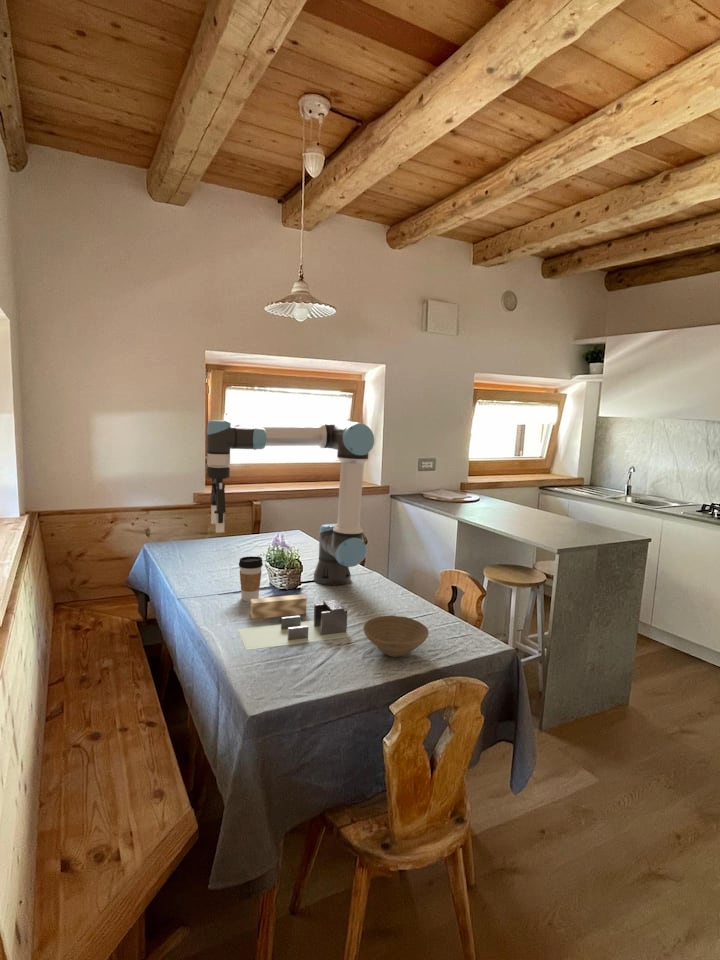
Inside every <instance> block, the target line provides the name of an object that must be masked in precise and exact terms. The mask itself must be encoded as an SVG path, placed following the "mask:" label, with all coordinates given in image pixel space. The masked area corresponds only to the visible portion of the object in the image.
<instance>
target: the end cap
mask: <svg viewBox="0 0 720 960" xmlns="http://www.w3.org/2000/svg"><path fill="white" fill-rule="evenodd" d="M313 606H314V610H313V611H314V612H313V613H314V614H313V621H314V626H315V627H316V626H321V627H320V634H321V635H327V634H335V633H344V632H346V631H347V628H348V609H346V607H345V606H343V604H342V603H340V601H337V600H336V599H330V600H323V603H322V602H321V603H315V604H314V605H313ZM347 632H348V631H347Z"/></svg>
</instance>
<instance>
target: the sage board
mask: <svg viewBox="0 0 720 960" xmlns="http://www.w3.org/2000/svg"><path fill="white" fill-rule="evenodd" d="M306 625H307V626H308V638H304V639H296V640H288V629H281V623H280V624H273V625H263V626H254V627H253V626H251V627H245V628H237V632H238V634H239V638H240V639H241V641H242V643H243V645H244V648H245V650H246V651H250V650H251V651H253V650H259V649H267V648H268V649H269V648H274V647H282V646H290V645H298V644H305V643H313V642H321V641H328V640H337V639H344V638H352V636H351V634H350V633H349V632H348V631H346V632H344V633H335V634H327V635H321V634H320V627H321V626H316V627H315V626H314V620H307V621H301V625H300V626H306Z"/></svg>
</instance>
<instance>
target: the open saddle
mask: <svg viewBox="0 0 720 960" xmlns="http://www.w3.org/2000/svg"><path fill="white" fill-rule="evenodd" d="M280 617H281V618H280V624H281V629H288V640H296V639H304V638H308V626H307V625H306V626H300V625H301V622H302V621H301V620H302V619H301V614H298V615H289V616H280Z"/></svg>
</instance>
